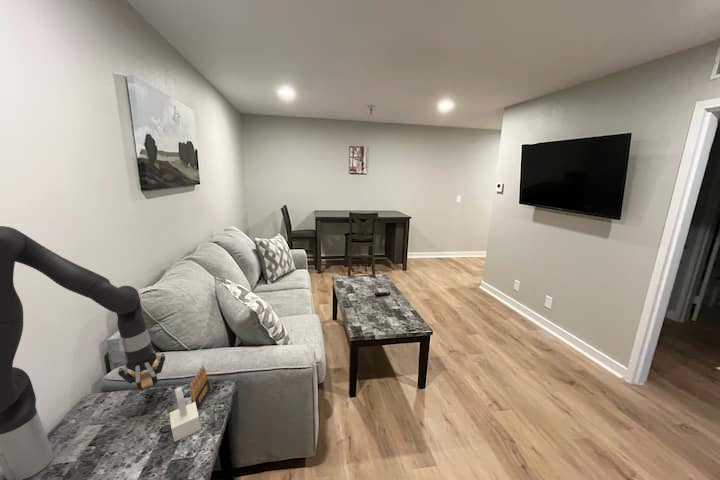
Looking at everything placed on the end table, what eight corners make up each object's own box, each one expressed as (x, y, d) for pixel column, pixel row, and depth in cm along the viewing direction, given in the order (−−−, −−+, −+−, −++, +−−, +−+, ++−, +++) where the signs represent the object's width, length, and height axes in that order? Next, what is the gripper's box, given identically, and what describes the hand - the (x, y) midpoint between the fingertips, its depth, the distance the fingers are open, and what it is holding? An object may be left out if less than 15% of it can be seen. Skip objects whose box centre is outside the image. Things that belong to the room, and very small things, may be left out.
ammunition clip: (198, 410, 112) (192, 383, 109) (193, 410, 112) (187, 383, 109) (210, 388, 122) (205, 363, 119) (206, 388, 122) (201, 363, 119)
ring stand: (174, 441, 99) (164, 402, 95) (172, 425, 106) (163, 387, 101) (201, 429, 104) (193, 391, 100) (197, 413, 110) (190, 377, 106)
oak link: (163, 380, 105) (161, 374, 105) (131, 392, 100) (129, 386, 100) (160, 357, 118) (159, 351, 117) (132, 366, 113) (131, 361, 112)
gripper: (109, 358, 94) (123, 403, 98) (162, 341, 101) (172, 383, 106) (111, 346, 99) (124, 389, 104) (161, 331, 107) (171, 372, 112)
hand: (148, 386), depth 105 cm, fingers closed on oak link, 3 cm apart
